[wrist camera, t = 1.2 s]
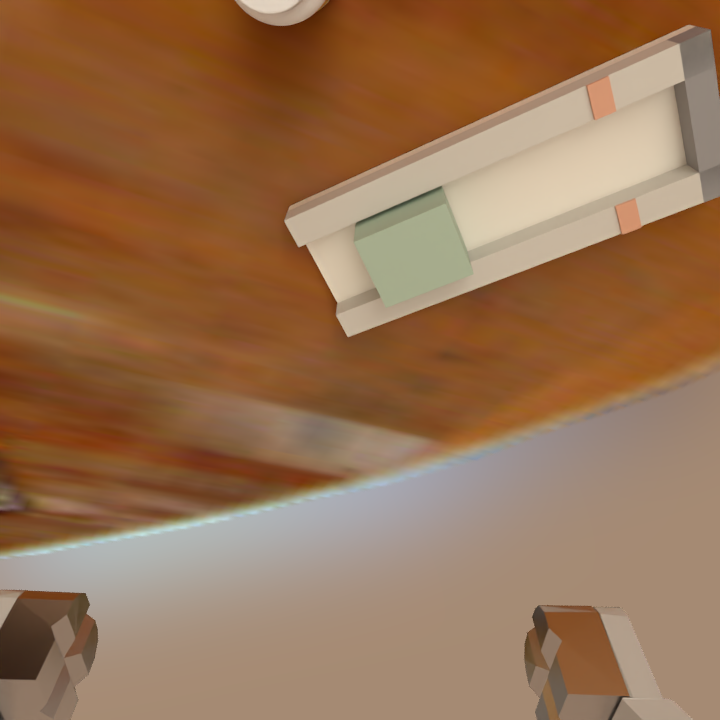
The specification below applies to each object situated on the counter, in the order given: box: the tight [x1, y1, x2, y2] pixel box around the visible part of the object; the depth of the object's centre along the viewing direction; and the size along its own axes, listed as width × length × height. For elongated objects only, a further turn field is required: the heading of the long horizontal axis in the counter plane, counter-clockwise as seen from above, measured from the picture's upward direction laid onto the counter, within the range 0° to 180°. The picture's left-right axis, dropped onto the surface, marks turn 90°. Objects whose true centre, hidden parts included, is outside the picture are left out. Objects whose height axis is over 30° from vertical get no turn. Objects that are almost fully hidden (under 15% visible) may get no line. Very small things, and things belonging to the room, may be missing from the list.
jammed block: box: [354, 186, 474, 308], centre depth 39 cm, size 6×5×4 cm
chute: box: [284, 25, 720, 337], centre depth 39 cm, size 26×10×3 cm, turn 115°
